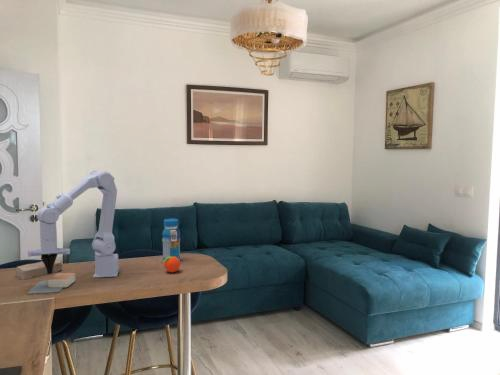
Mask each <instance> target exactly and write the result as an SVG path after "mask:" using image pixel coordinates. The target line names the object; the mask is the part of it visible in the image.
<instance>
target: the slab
mask: <svg viewBox="0 0 500 375" xmlns="http://www.w3.org/2000/svg"><path fill="white" fill-rule="evenodd" d="M47 280H48V286H49V287H63V288H67V287H69V286H70V285H72V284H73V283H75V282H76V273H75V272H74V273H73V272H70V273H68V272H66V273H63V272H62V273H60V272H57V273H55V275H53V276H51V277H50V278H48V279H47Z"/></svg>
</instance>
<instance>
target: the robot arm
mask: <svg viewBox="0 0 500 375" xmlns="http://www.w3.org/2000/svg"><path fill="white" fill-rule="evenodd" d="M94 188H97V189H98V190H99V191H100V192H101V193H102V202H101V210H100V218H99V224H98V230H97V232H96V233H95V234H94V239H93V240H92V243H91V248H92V250H93V251H94V270H95V271H94V272H95V273H94V274H93V275H92V278H109V277H118V274H119V272H120V265H119V253H114V252H115V251H116V247H117V246H116V242H115V239H116V238H115V236H114V234H113V227H114V226H113V225H114V219H115V212H116V211H115V210H116V204H117V203H116V202H117V196H118V189H117V186H116V183H115V177H114V176H113V175H112V174H111V173H110V172H108V171H99V170H93V171H91V172H89V174H87V175H86V176H85V177H84V178H83V179H82V180H81V181H79V182H78V183H77V184H76V185H75V186H74V187H73V188H72V189H71V190H69V192H67V193H61V194H57V195H56V197H55V199H54V200H52V201H51V202H50V203H47V204H46V206H45V207H42V208H40V209H38V213H37V214H36V218H37V220H38V221H39V236H40V238H39V239H40V249H32V250H31V249H30V250H28V251H27V257H28V258H29V257H38V256H40V260H41V262H42V261H43V263H44V265H45V267H46V269H47V273H48V274H47V275H52V274H53V273H52V272H53V266H54V263H55V260H57V258H58V255H70V253H71V248H63V247H59V248H58V235H57V234H58V232H57V221H58V220H59V218H60V216H61V215H62V214H63V213H65V212H66V211H67V210H68V209H69V208H70V207H71V206H73V203H74V200H75V199H77V198H78V197H80V196H81V195H83V193H85V192H86V191H87V190H89V189H94Z"/></svg>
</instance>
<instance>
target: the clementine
mask: <svg viewBox="0 0 500 375" xmlns="http://www.w3.org/2000/svg"><path fill="white" fill-rule="evenodd" d="M164 261H165V262H164ZM164 261H163V263H162V264H163V266H164V269H165V271H166V272H168V273H175V272H177V271H178V270H179V269H180V267H181V261H180V260H179V259H178V258H177V257H175V256H170V257H167V258H166V259H165V260H164Z"/></svg>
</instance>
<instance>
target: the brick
mask: <svg viewBox="0 0 500 375" xmlns="http://www.w3.org/2000/svg"><path fill="white" fill-rule="evenodd" d="M62 269H63V262H62V261H61V260H58V259H56V260H55V263H54V266H53V272H52V274H57V273H59V272H60V271H62ZM15 275H16V277H17V278H19V279H20V280H29V279H34V278H37V277H42V276H45V275H49V274H48V273H47V269H46V267H45V265H44V263H43V261H42V260H41V261H39V262H38V261H37V262H35V263H27V264H22V265H19V266H16V269H15Z"/></svg>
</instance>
